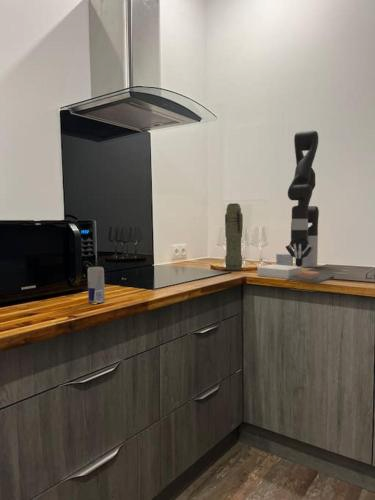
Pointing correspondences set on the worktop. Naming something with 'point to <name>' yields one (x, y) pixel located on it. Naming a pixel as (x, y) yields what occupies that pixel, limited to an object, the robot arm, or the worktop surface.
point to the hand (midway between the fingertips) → (298, 266)
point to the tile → (308, 274)
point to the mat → (314, 280)
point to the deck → (278, 271)
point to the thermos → (233, 237)
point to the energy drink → (96, 285)
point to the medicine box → (284, 259)
